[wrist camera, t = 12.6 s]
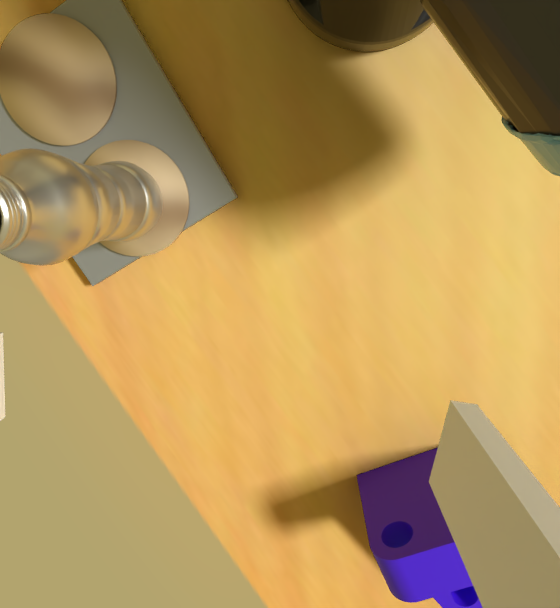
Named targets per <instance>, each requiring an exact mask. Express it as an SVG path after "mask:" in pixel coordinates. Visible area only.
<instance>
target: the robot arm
mask: <svg viewBox="0 0 560 608" xmlns="http://www.w3.org/2000/svg"><path fill="white" fill-rule="evenodd" d="M288 2H289V3H290V5H291V7H292V9H293V10H294V12H295V13H296V15H297V16H298V17H299V19H300V20H301V21H302V22H303V23H304V24H305V25H306V26H307V27H308V28H309V29H310V30H311V31H312V32H313V33H315V34H316V35H317V36H319V37H320V38H322V39H323V40H325V41H327V42H328V43H331V44H333V45H335V46H338V47H340V48H344V49H348V50H353V51H361V52H370V51H380V50H385V49H389V48H392V47H395V46H398V45H401V44H403V43H405V42H407V41H409V40H411V39H412V38H414V37H416V36H417V35H419V34H420V33H422V32H423V31H424V30H425V29H427V28H428V27H429V26H430V25H431V24H432V23H433V22H434V23H435V25H436V26H437V27H438V29H439V30H440V31H441V33H442V34H443V36H444V37H445V38H446V40H447V41H448V42H449V44H450V45H451V47H452V48H453V49H454V51H455V52H456V53H457V55H458V56H459V58H460V59H461V60H462V62H463V63H464V64H465V66H466V67H467V69H468V70H469V71H470V73H471V74H472V75H473V77H474V78H475V79H476V81H477V82H478V84H479V85H480V86H481V88H482V89H483V90H484V92H485V93H486V95H487V96H488V97H489V99H490V100H491V101H492V103H493V104H494V106H495V107H496V108H497V110H498V111H499V112H500V114H501V115H502V123H503V125H504V126H505V128H506V129H507V130H508V131H509V132H510V133H511V134H513V135H514V136H516V137H518V138H520V139H521V141H522V142H523V143H524V144H525V146H526V147H527V148H528V149H529V150H530V152H531V153H532V154H533V155H534V157H535V158H536V159H537V160H538V162H539V163H540V164H541V165H542V166H543V167H544V168H545V169H546V170H548V171H549V172H551V173H552V174H554V175H557V176H560V0H288ZM4 394H5V391H4V354H3V333H0V421H1V420H2V419H3V418H5V395H4ZM429 484H430V486H431V488H432V491H433V493H434V495H435V498H436V500H437V502H438V505H439V507H440V509H441V512H442V514H443V516H444V519H445V521H446V523H447V526H448V528H449V530H450V533H451V535H452V537H453V540H454V542H455V544H456V547H457V549H458V551H459V554H460V556H461V558H462V561H463V563H464V565H465V568H466V570H467V572H468V575H469V577H470V579H471V582H472V584H473V586H474V589H475V591H476V593H477V596H478V598H479V600H480V603H481V605H482V607H483V608H560V507H559V506H558V505H557V504H556V502H555V501H554V500H553V499H552V497H551V496H550V495H549V494H548V492H547V491H546V490H545V489H544V487H543V486H542V485H541V484H540V482H539V481H538V480H537V479H536V477H535V476H534V475H533V474H532V472H531V471H530V470H529V469H528V467H527V466H526V465H525V464H524V462H523V461H522V460H521V459H520V457H519V456H518V455H517V454H516V452H515V451H514V450H513V449H512V447H511V446H510V445H509V444H508V443H507V441H506V440H505V439H504V438H503V436H502V435H501V434H500V433H499V431H498V430H497V429H496V428H495V426H494V425H493V424H492V423H491V421H490V420H489V419H488V418H487V416H486V415H485V414H484V413H483V411H482V410H481V409H480V408H479V406H478V405H477V404H471V403H464V402H458V401H451V400H450V404H449V408H448V412H447V415H446V419H445V423H444V426H443V430H442V434H441V438H440V441H439V445H438V449H437V453H436V456H435V460H434V464H433V468H432V471H431V475H430V479H429Z"/></svg>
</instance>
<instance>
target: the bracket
mask: <svg viewBox="0 0 560 608" xmlns="http://www.w3.org/2000/svg"><path fill="white" fill-rule="evenodd" d="M437 449H438V448H435V449H432V450H429V451H426V452H423V453H420V454H417V455H414V456H411V457H408V458H405V459H403V460H400V461H397V462H394V463H391V464H388V465H385V466H382V467H379V468H376V469H373V470H370V471H367V472H364V473H361V474H358V475H357V480H358V485H359V491H360V496H361V501H362V507H363V512H364V517H365V523H366V528H367V534H368V539H369V544H370V548H371V550H372V552H373V555H374V557H375V559H376V561H377V563H378V565H379V567H380V570H381V572H382V574H383V576H384V578H385V580H386V583H387V585H388V587H389V589H390V591H391V593H392V594H393V595H394V596H395V597H396V598H398V599H399V600H402V601H405V602H418V601H422V600H425V599H429V598H432V597H433V598H434V599H435V600H436V601H437V602H438V603H439V604H440V605H441V606H442V607H443V608H483V607H482V605H481V603H480V600H479V598H478V596H477V593H476V591H475V589H474V586H473V584H472V582H471V579H470V577H469V575H468V572H467V570H466V568H465V565H464V563H463V561H462V558H461V556H460V554H459V551H458V549H457V547H456V544H455V542H454V540H453V537H452V535H451V533H450V530H449V528H448V526H447V523H446V521H445V519H444V516H443V514H442V512H441V509H440V507H439V505H438V502H437V500H436V498H435V495H434V493H433V491H432V488H431V486H430V484H429V479H430V475H431V471H432V468H433V464H434V460H435V456H436V453H437Z"/></svg>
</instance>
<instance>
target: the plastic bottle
mask: <svg viewBox="0 0 560 608" xmlns="http://www.w3.org/2000/svg"><path fill="white" fill-rule="evenodd" d="M162 205H163V201H162V194H161V191H160V188H159V186H158V184H157V182H156V181H155V180H154V178H153V177H152V176H151V175H150V174H149V173H148V172H146V171H145V170H144V169H142V168H141V167H139V166H137V165H135V164H133V163H130V162H126V161H111V162H105V163H102V164H98V165H94V166H90V165H85V164H81V163H77V162H75V161H73V160H70V159H68V158H66V157H63V156H61V155H58V154H55V153H52V152H48V151H45V150H40V149H31V148H30V149H19V150H16V151H13V152H10V153H7V154H4V155H2V156H0V253H1V254H2V255H4V256H6V257H8V258H10V259H12V260H15V261H18V262H21V263H27V264H33V265H52V264H56V263H59V262H62V261H64V260H67V259H69V258H71V257H73V256H75V255H77V254H78V253H80V252H81V251H83V250H84V249H86V248H87V247H89V246H91V245H93V244H95V243H98V242H101V241H113V242H129V241H133V240H137V239H139V238H141V237H143V236H144V235H145V234H147V233H148V232H149V231H150V230H151V229H152V228H153V227H154V226H155V224H156V223H157V222H158V220H159V218H160V215H161V212H162Z"/></svg>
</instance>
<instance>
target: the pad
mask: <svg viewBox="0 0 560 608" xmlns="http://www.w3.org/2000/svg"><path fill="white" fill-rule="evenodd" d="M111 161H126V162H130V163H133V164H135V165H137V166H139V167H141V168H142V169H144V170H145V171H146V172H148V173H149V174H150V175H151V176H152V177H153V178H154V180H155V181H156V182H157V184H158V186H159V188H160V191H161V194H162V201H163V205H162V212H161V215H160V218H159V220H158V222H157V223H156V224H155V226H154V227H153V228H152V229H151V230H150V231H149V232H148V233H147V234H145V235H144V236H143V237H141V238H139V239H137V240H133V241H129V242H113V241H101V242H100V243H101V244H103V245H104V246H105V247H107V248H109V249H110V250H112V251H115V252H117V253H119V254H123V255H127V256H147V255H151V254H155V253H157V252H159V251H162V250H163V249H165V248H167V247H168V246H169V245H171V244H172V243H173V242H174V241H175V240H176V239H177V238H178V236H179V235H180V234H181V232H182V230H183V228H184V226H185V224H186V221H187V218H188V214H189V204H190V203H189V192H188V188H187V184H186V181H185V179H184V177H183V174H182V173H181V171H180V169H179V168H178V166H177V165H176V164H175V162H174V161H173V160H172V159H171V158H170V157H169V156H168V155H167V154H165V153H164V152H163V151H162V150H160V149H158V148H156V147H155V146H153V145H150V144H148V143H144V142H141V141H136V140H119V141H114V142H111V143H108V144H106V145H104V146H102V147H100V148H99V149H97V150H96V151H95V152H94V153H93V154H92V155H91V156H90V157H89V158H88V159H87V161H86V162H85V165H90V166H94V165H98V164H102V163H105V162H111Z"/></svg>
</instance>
